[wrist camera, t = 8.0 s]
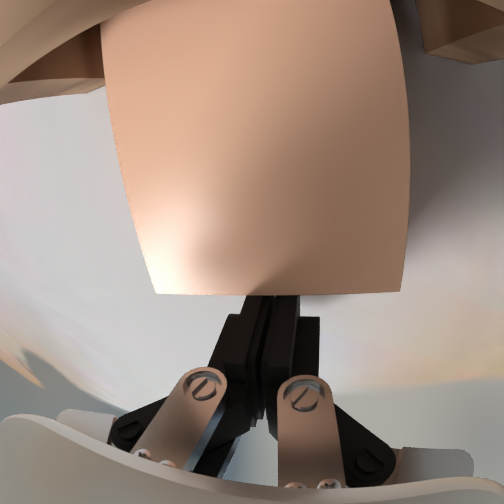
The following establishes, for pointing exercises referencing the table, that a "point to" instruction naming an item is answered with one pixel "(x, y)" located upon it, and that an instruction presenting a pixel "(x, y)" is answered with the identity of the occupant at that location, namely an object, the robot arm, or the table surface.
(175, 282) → the peach flat block
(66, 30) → the wooden bridge block
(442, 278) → the table surface
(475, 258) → the table surface
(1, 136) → the table surface
